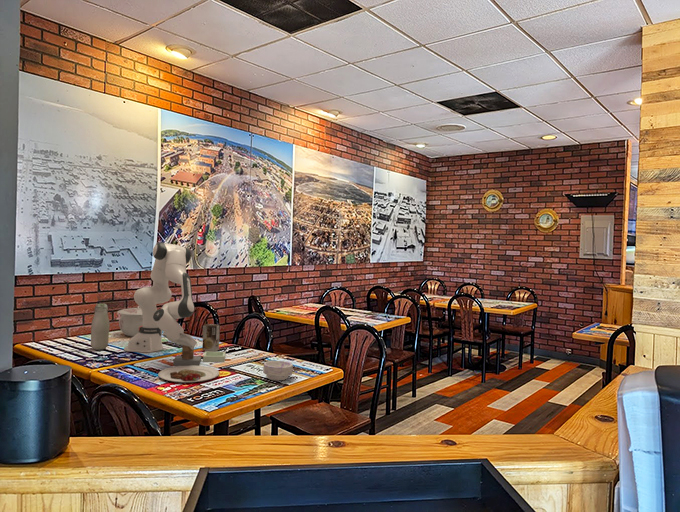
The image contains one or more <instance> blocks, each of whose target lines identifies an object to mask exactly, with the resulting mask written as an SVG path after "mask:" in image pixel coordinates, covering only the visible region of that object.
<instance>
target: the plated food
mask: <svg viewBox="0 0 680 512" xmlns="http://www.w3.org/2000/svg"><path fill="white" fill-rule="evenodd" d="M157 375H158V378H160V379H162V380H166V381H169V382H174V383H182V384H183V383H187V384H188V383H190V384H191V383H197V382H198V383H200V382H205V381H209V380H212V379H215V378H217V377H218V376H219V375H220V371H219V370H218V369H216V368H215V367H211V366H205V365H199V366H196V365H188V366H172V367H168V368H164V369H162V370H160V371H159V372H158V374H157Z"/></svg>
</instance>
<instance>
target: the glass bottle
mask: <svg viewBox="0 0 680 512" xmlns="http://www.w3.org/2000/svg"><path fill="white" fill-rule="evenodd" d="M108 310H109V308H108V305H107V304H106V303H97V304H96V305H95V306H94V314H93V317H92V320H91V328H90V347H91V348H92V349H93V350H96V351H103V350H105V349H106V348H107V347H108V346H109V342H110V341H109V339H110V338H109V337H110V327H111V326H110V319H109V315H108V312H109V311H108Z"/></svg>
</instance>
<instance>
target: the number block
mask: <svg viewBox="0 0 680 512" xmlns="http://www.w3.org/2000/svg"><path fill="white" fill-rule="evenodd" d="M194 351H195V348H194V349H193V350H191V349H190V348H189V346H185V345H182V346H181V356H182V358H184V359H187V360H188V359H193V356H195V354H194V353H195V352H194Z"/></svg>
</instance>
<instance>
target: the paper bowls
mask: <svg viewBox="0 0 680 512" xmlns="http://www.w3.org/2000/svg"><path fill="white" fill-rule="evenodd" d="M293 368H294V364H293V363H292V362H289V361H285V360H270V361H269V360H268V361H265V362H264V363H263V374H265V375H266V377H267V378H268V379H269V380H271V381H273V382H274V381H275V382H280V381H279V380H283V381H286V380H287V379H288V378H289V376H292V375H293V371H294V370H293ZM285 379H286V380H285Z"/></svg>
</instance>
